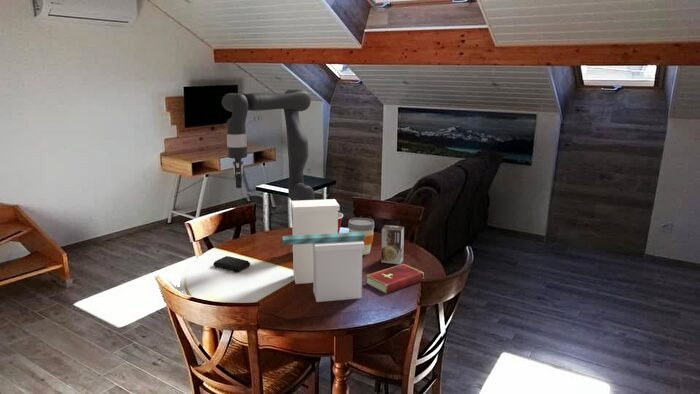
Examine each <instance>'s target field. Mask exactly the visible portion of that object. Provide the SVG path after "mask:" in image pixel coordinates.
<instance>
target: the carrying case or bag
mask: <svg viewBox="0 0 700 394" xmlns="http://www.w3.org/2000/svg"><path fill="white" fill-rule="evenodd" d="M213 266H214V268H216V269H217V268H218V269H220V270H225V271H227V272H233V273H241V272H242V271H244V270H245V269H248V268H249V267H250V266H251V262H250V261H248V260H246V259H243V258H242V259H241V258H237V257H233V256H230V255H225V256H223V257H221V258H219V259H217V260H215V261H214V262H213Z"/></svg>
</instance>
